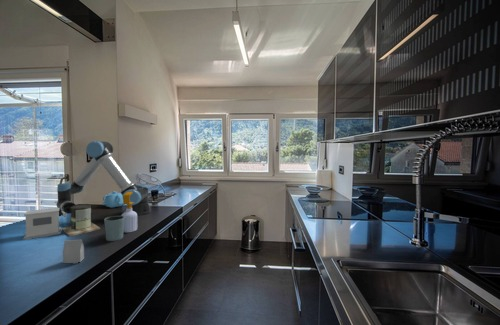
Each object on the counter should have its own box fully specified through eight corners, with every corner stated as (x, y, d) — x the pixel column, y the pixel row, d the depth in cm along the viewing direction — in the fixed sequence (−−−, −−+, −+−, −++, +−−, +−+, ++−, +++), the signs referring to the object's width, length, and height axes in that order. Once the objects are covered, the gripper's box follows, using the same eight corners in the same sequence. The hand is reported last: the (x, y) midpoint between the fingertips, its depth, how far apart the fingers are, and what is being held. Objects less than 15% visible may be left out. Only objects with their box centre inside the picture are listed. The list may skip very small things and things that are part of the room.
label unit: (61, 229, 146) (60, 207, 146) (60, 234, 138) (59, 210, 138) (26, 234, 137) (25, 210, 136) (23, 239, 129) (22, 214, 128)
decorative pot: (99, 208, 198) (99, 193, 197) (110, 204, 214) (109, 189, 213) (119, 208, 199) (119, 193, 198) (128, 204, 215) (127, 189, 214)
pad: (91, 224, 158) (91, 222, 158) (100, 229, 148) (100, 227, 147) (62, 230, 145) (62, 228, 145) (69, 236, 135) (69, 234, 135)
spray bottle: (140, 228, 151) (139, 191, 150) (131, 233, 142) (131, 193, 141) (127, 227, 152) (126, 190, 151) (118, 232, 143) (117, 193, 142)
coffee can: (66, 231, 141) (66, 208, 140) (78, 225, 151) (77, 204, 150) (84, 230, 142) (84, 208, 141) (94, 225, 152) (94, 204, 151)
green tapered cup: (110, 243, 127) (109, 221, 126) (100, 239, 132) (100, 218, 131) (128, 237, 135) (127, 217, 135) (118, 233, 141) (118, 214, 140)
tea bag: (80, 262, 104) (80, 241, 104) (63, 264, 103) (62, 242, 102) (84, 259, 108) (83, 238, 108) (67, 260, 106) (66, 239, 106)
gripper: (89, 209, 172) (100, 214, 159) (45, 216, 152) (53, 222, 139) (89, 199, 171) (99, 203, 158) (44, 205, 152) (53, 210, 139)
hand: (78, 212), depth 149 cm, fingers open, 13 cm apart
